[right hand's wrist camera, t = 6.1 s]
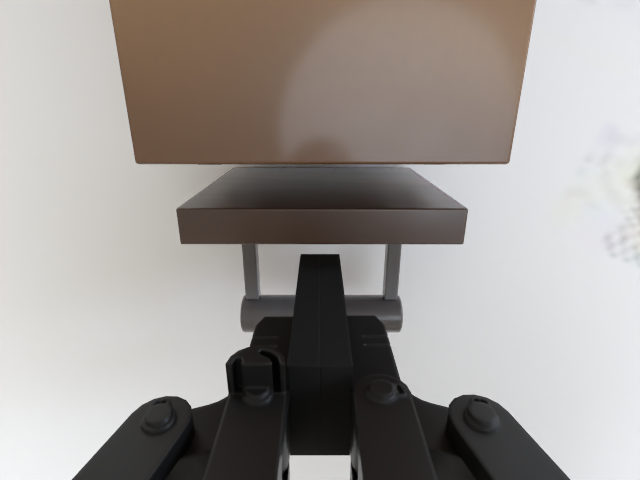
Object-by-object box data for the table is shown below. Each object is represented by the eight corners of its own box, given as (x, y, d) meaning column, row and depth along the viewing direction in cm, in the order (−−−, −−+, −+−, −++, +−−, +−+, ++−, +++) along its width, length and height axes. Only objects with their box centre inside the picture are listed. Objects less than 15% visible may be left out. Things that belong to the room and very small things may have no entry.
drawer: (400, 291, 22) (443, 393, 14) (242, 291, 22) (200, 393, 14) (442, -242, 14) (586, -652, 7) (201, -241, 14) (61, -651, 7)
